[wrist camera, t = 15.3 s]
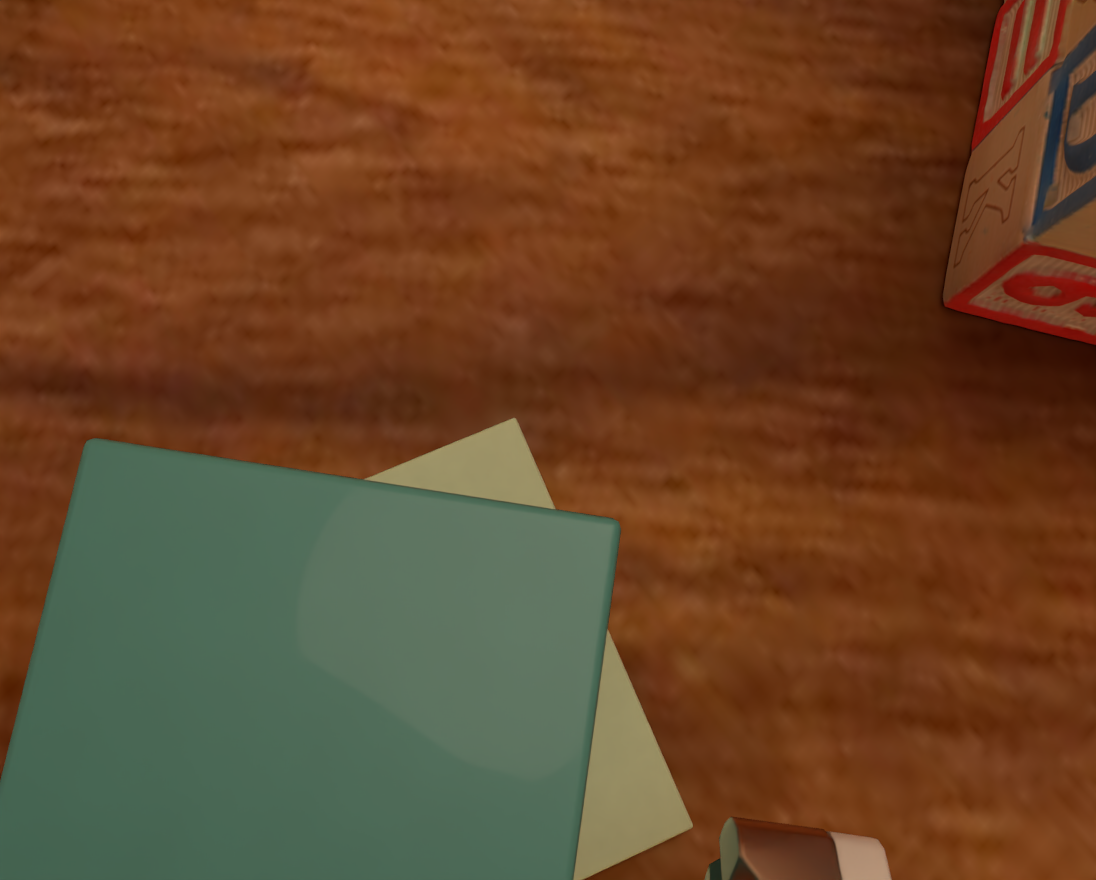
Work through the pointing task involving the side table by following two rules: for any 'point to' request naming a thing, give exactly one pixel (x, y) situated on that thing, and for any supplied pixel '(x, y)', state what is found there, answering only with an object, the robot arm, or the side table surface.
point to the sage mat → (620, 724)
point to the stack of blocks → (1032, 176)
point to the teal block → (305, 680)
